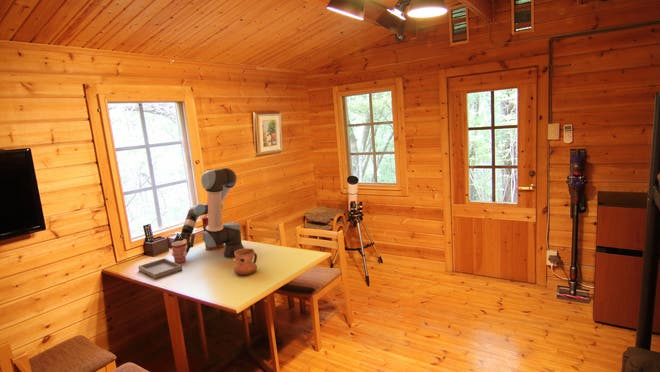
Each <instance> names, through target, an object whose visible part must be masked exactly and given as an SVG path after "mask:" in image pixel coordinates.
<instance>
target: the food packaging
mask: <svg viewBox="0 0 660 372" xmlns="http://www.w3.org/2000/svg"><path fill="white" fill-rule="evenodd" d="M201 220H202V228H203V232H204V231H206V227H207V226H208V214H205V215H202V219H201ZM222 222H223V221H222V220H221V225H222V226H223V223H222ZM204 246H205V251H211V250H218V249H219V250H220V249H224V248H225V244H221V245H218V246H216V247H208V246H207V245H206V244H205V243H204Z"/></svg>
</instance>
